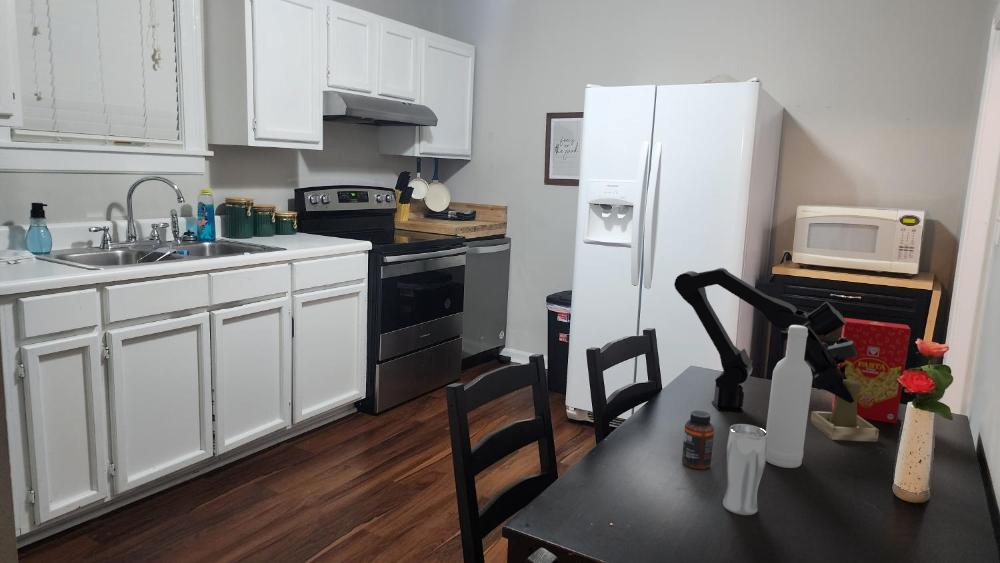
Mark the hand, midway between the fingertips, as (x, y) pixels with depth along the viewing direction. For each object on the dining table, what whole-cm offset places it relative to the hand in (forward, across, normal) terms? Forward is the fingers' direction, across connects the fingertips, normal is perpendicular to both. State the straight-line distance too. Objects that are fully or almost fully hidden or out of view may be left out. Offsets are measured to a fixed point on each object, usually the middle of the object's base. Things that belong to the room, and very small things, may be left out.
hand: (853, 399), depth 164 cm
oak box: (+5, 0, +7) cm, 9 cm away
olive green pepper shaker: (+4, 0, +6) cm, 7 cm away
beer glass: (-4, -56, +17) cm, 58 cm away
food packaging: (+8, +17, +4) cm, 20 cm away
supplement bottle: (-12, -41, +26) cm, 50 cm away
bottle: (-2, -28, +14) cm, 32 cm away
